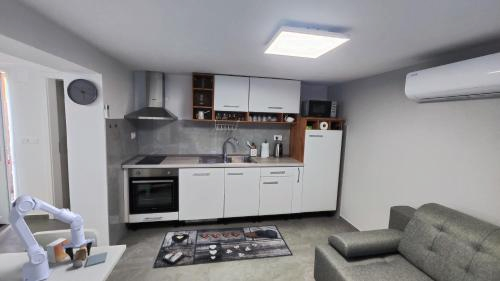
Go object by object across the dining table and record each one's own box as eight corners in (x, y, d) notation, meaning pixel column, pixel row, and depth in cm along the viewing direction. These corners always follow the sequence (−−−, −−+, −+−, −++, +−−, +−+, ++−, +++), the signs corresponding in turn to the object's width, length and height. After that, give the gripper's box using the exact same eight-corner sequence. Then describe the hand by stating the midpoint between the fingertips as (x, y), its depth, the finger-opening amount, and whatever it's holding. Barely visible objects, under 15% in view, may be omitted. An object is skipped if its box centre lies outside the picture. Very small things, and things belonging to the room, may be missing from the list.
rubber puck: (72, 270, 120) (71, 265, 120) (74, 265, 124) (73, 260, 123) (81, 267, 122) (80, 263, 121) (83, 263, 125) (82, 258, 125)
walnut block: (75, 262, 126) (74, 254, 125) (77, 258, 130) (76, 250, 129) (84, 260, 128) (83, 252, 127) (86, 256, 132) (85, 248, 131)
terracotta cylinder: (79, 255, 133) (78, 250, 132) (80, 251, 136) (80, 247, 136) (87, 253, 134) (86, 248, 134) (88, 249, 138) (88, 245, 137)
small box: (55, 263, 126) (53, 246, 124) (47, 262, 127) (45, 245, 125) (69, 254, 133) (67, 238, 132) (62, 253, 134) (59, 237, 133)
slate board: (85, 267, 122) (85, 265, 122) (89, 257, 130) (89, 256, 130) (104, 262, 126) (104, 260, 126) (107, 253, 134) (107, 251, 134)
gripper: (59, 242, 120) (63, 265, 122) (91, 235, 126) (94, 257, 128) (63, 236, 126) (66, 257, 128) (94, 229, 133) (96, 250, 135)
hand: (80, 257), depth 129 cm, fingers open, 7 cm apart
